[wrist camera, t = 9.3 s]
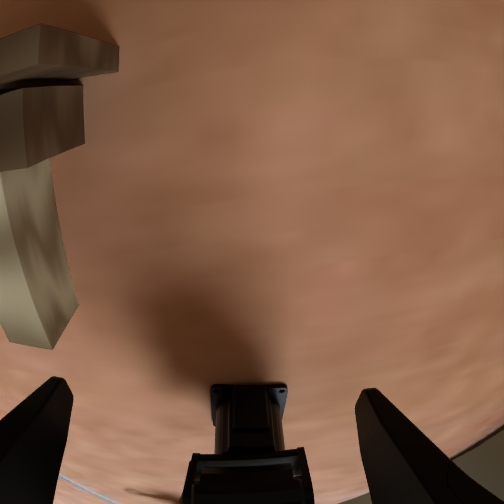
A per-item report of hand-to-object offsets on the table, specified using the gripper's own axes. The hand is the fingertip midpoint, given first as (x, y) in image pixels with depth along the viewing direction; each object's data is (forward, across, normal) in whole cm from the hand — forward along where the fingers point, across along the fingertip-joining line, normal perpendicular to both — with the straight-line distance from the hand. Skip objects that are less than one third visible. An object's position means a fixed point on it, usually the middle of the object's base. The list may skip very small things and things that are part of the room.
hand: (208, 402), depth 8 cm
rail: (+12, +13, -1) cm, 18 cm away
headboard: (+12, +13, -8) cm, 19 cm away
